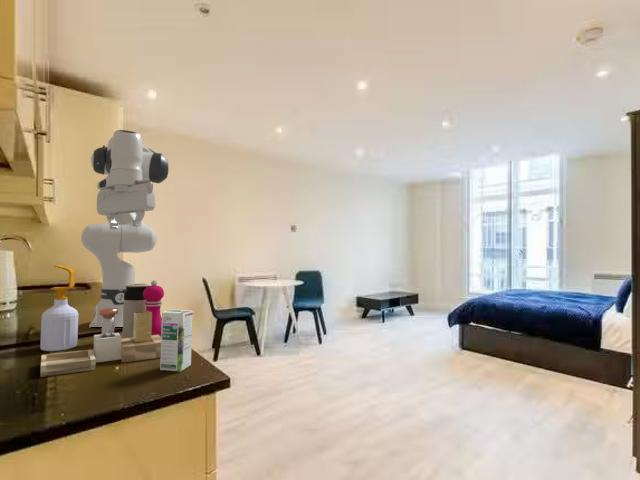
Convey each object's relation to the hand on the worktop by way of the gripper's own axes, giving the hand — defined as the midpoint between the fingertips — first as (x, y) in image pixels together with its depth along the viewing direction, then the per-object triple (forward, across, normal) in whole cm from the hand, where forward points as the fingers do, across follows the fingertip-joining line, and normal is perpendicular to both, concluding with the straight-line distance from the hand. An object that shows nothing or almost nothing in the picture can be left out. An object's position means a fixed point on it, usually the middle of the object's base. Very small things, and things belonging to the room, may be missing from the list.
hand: (125, 227), depth 115 cm
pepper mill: (+36, -1, -11) cm, 37 cm away
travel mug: (+35, +9, -14) cm, 39 cm away
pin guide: (+37, -2, +6) cm, 37 cm away
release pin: (+33, -2, +6) cm, 33 cm away
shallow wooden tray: (+37, 0, +16) cm, 40 cm away
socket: (+37, -7, -1) cm, 37 cm away
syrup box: (+38, -24, +4) cm, 45 cm away
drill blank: (+37, -7, -1) cm, 37 cm away
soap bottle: (+35, +20, +5) cm, 41 cm away
